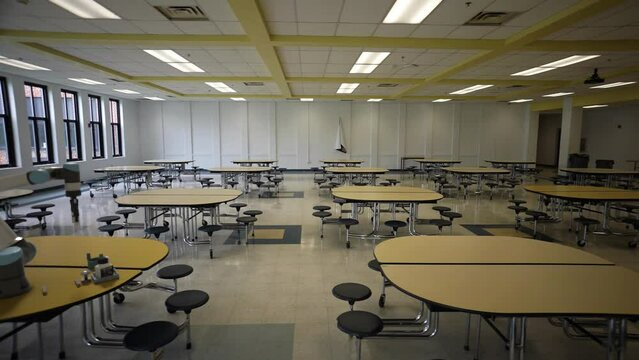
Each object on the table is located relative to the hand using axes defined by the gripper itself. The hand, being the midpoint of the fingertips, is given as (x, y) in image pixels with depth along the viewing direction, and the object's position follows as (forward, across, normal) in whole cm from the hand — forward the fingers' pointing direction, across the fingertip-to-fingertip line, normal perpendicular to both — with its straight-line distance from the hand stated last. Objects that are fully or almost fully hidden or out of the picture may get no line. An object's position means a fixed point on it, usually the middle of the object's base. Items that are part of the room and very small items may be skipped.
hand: (75, 225), depth 200 cm
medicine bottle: (+30, -14, -11) cm, 35 cm away
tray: (+31, -14, -11) cm, 36 cm away
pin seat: (+31, -13, +9) cm, 35 cm away
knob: (+31, -11, -2) cm, 33 cm away
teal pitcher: (+31, +10, -10) cm, 34 cm away
